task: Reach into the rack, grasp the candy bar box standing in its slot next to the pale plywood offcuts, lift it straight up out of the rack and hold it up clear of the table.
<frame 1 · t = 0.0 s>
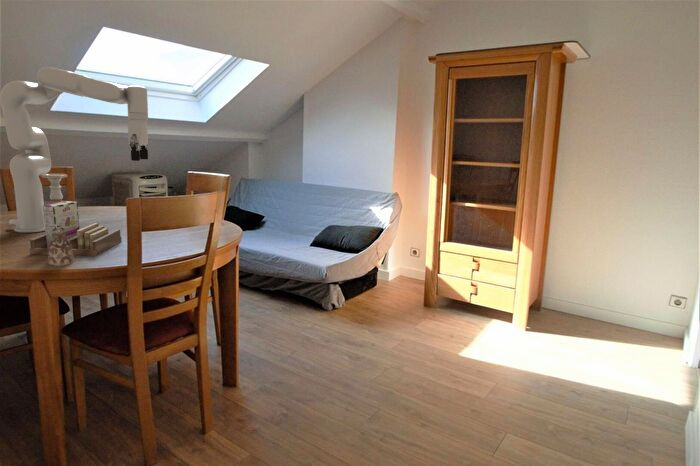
hand: (139, 159, 194), 31 cm above the table, tool pointing down, fingers open, 9 cm apart
figurine: (61, 263, 154), on the table
offcuts: (95, 247, 173), resting in rack
candy bar box: (64, 247, 172), resting in rack
candle holder: (57, 216, 227), on the table
rack: (32, 229, 196), on the table
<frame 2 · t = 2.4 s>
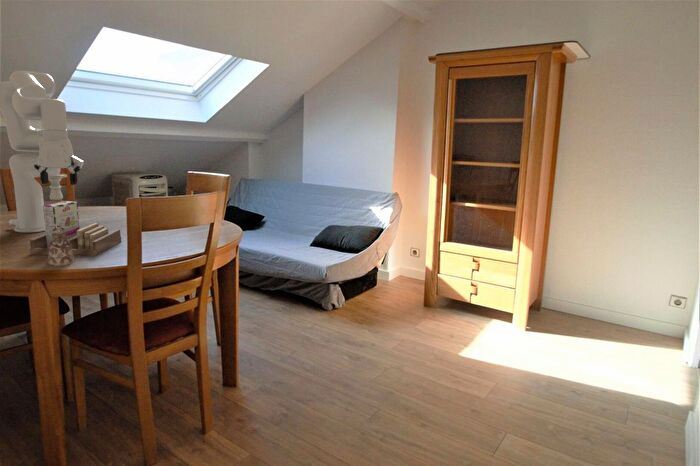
hand: (59, 184, 167), 23 cm above the table, tool pointing down, fingers open, 9 cm apart
nothing on the table moved.
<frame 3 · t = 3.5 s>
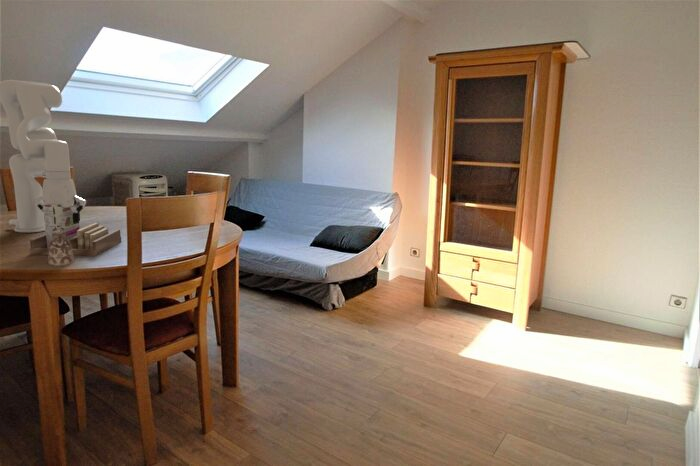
hand: (62, 222, 170), 9 cm above the table, tool pointing down, fingers open, 9 cm apart
nothing on the table moved.
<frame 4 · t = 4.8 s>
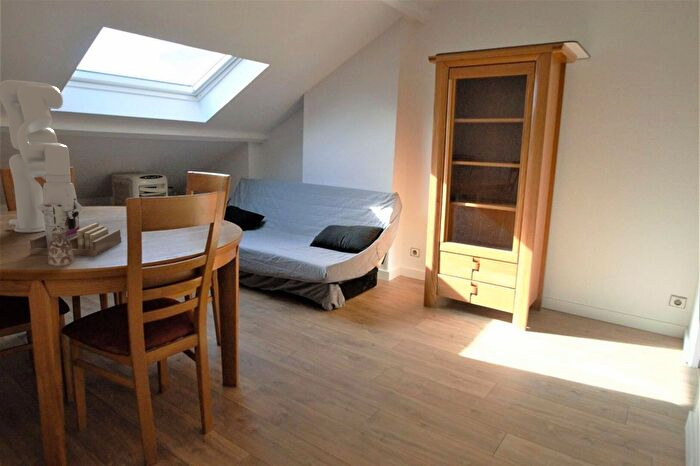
hand: (62, 228, 171), 7 cm above the table, tool pointing down, fingers closed on candy bar box, 5 cm apart
candy bar box: (64, 247, 172), resting in rack, touching gripper
everything else where it was.
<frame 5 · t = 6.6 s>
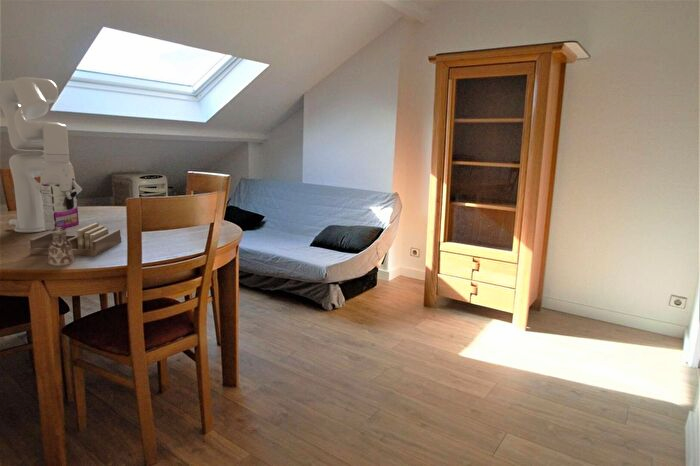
hand: (60, 208, 170), 14 cm above the table, tool pointing down, fingers closed on candy bar box, 5 cm apart
candy bar box: (62, 228, 171), point 7 cm above the table, touching gripper
everything else where it was.
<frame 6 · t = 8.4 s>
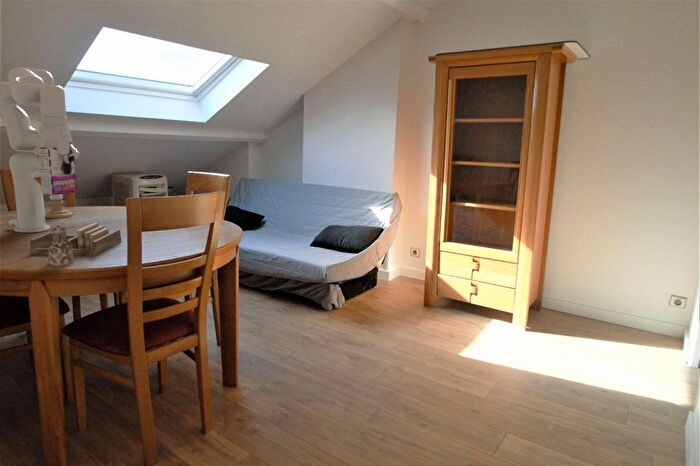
hand: (58, 173, 167), 27 cm above the table, tool pointing down, fingers closed on candy bar box, 5 cm apart
candy bar box: (59, 193, 168), point 20 cm above the table, touching gripper
everything else where it was.
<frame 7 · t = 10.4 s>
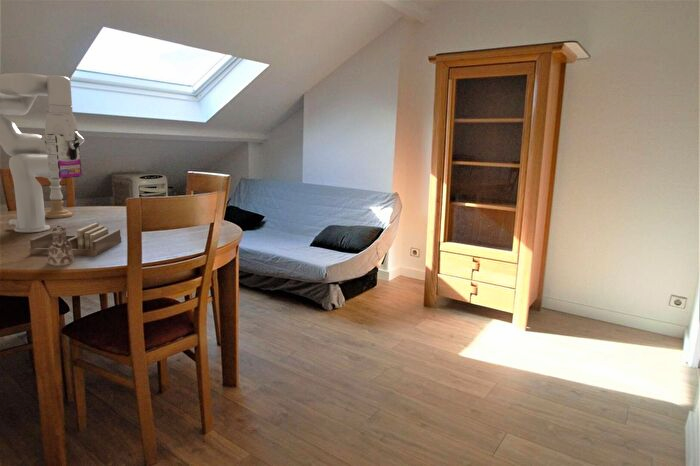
hand: (64, 158, 178), 31 cm above the table, tool pointing down, fingers closed on candy bar box, 5 cm apart
candy bar box: (65, 177, 180), point 24 cm above the table, touching gripper
everything else where it was.
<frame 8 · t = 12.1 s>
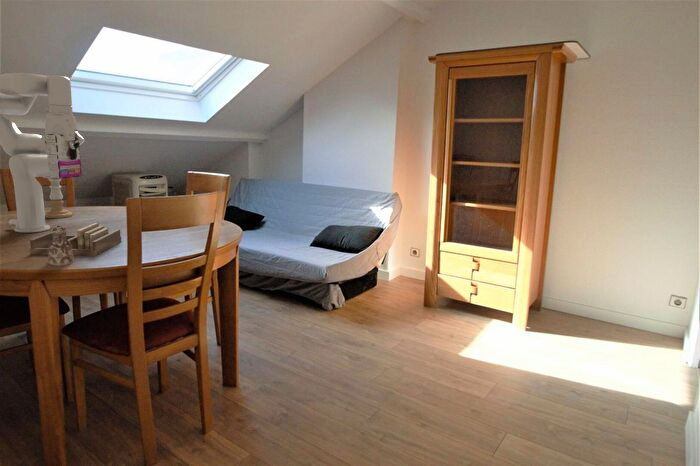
hand: (64, 158, 178), 31 cm above the table, tool pointing down, fingers closed on candy bar box, 5 cm apart
candy bar box: (65, 177, 180), point 24 cm above the table, touching gripper
everything else where it was.
at the end: the gripper is holding candy bar box; candy bar box point 24.1 cm above the table; candy bar box moved 27.7 cm from its start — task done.
